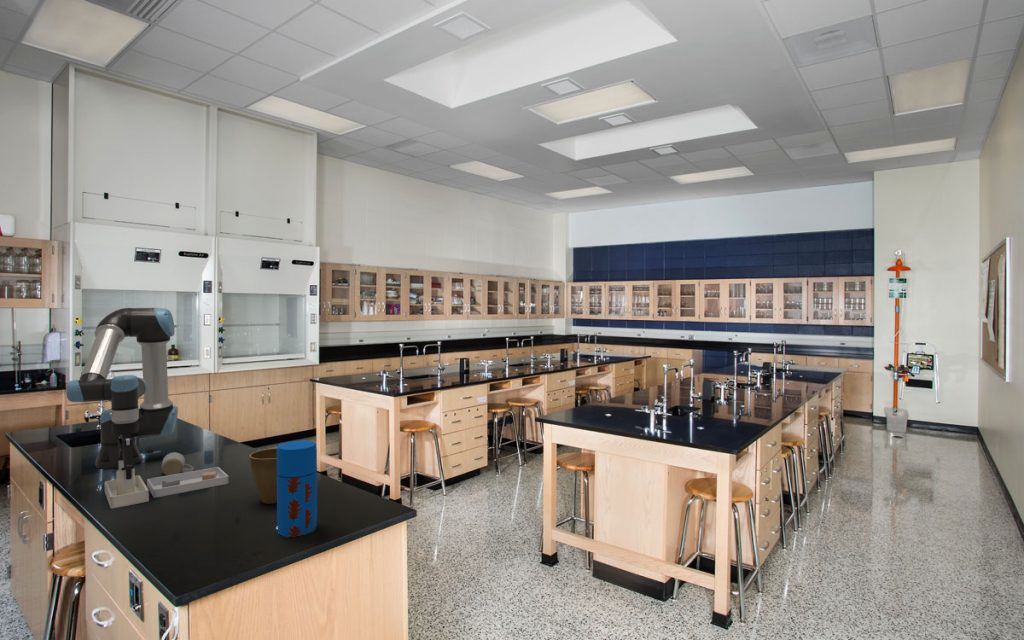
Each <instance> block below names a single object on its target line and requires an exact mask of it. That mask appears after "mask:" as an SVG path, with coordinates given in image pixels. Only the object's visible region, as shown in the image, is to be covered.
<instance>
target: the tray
mask: <svg viewBox="0 0 1024 640" xmlns="http://www.w3.org/2000/svg"><path fill="white" fill-rule="evenodd" d="M214 471H216V478H214V479H208V480H203V481H202V475H203V473H204V472H214ZM171 478H177V479H179V480H180V485H175V486H170V487H164V488H162V480H167V479H171ZM228 484H230V476H229V475H228V474H227V473H226V472H225V471H224V470H222V468H220V467H219V466H215V467H209V468H204V469H203V468H202V469H199V470H193V471H191V472H180V473H179V474H174V475H168V476H167V475H162V476H158V477H157V476H156V477H152V478H147V479H146V487H147V488H148V490H149V494H151V496H152V497H153V499H154V498H155V499H156V498H161V497H165V496H167V497H168V496H171V495H172V496H173V495H176V494H182V493H187V492H193V491H197V490H203V489H208V488H212V487H218V486H222V485H223V486H224V485H228Z"/></svg>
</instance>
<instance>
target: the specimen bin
mask: <svg viewBox="0 0 1024 640" xmlns="http://www.w3.org/2000/svg"><path fill="white" fill-rule="evenodd" d="M104 493H105V496H106V499H107V501H108V502H107V503H108V504H109V508H110V509H111V510H113V509H118V508H123V507H128V506H133V505H139V504H144V503H149V501H150V491H149V489H148V488H147V484H145V482H144V480H143V478H142V477H141V475H139V474H138V475H135V492H134V493H129V494H123V495H118V496H117V478H115V479H110V480H104Z"/></svg>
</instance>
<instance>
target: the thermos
mask: <svg viewBox="0 0 1024 640" xmlns="http://www.w3.org/2000/svg"><path fill="white" fill-rule="evenodd" d="M276 448H277V503H276V519H277V522H276V523H277V535H279V534H280V535H282V536H297V535H302V534H305V533H308V532H310V531H312V530H313V529H315V527H316V528H317V523H318V522H317V521H318V514H317V513H318V485H317V484H318V478H317V477H318V476H317V475H318V472H317V471H318V467H317V466H318V465H317V463H318V462H317V461H318V459H317V455H318V454H317V451H318V450H317V444H316V442H315V441H311V440H293V441H287V442H282V443H280V444H278V445H277V447H276ZM315 530H316V529H315ZM280 535H279V536H280ZM282 536H281V537H282Z"/></svg>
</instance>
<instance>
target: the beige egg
mask: <svg viewBox="0 0 1024 640" xmlns="http://www.w3.org/2000/svg"><path fill="white" fill-rule="evenodd" d="M135 472H136V471H135V467H134V468H133V478H134V488H130V489H125V490H124V489H123V470H122V471H121V469H119V468H118V469H117V470H116V479H117V496H118V495H123V494H129V493H134V492H135V476H136V475H135Z"/></svg>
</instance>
